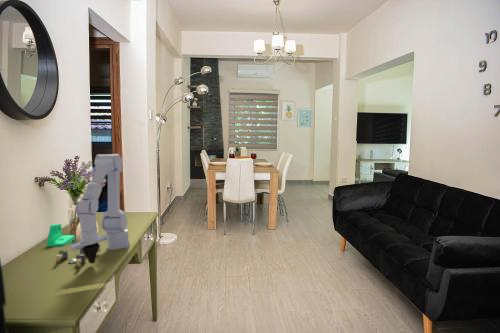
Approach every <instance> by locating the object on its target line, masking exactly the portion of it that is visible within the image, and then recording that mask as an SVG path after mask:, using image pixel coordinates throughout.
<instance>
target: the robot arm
mask: <svg viewBox="0 0 500 333" xmlns="http://www.w3.org/2000/svg"><path fill="white" fill-rule="evenodd" d="M94 166H95V171H94V173H93V176H92V180H91V183H88V184H87V185H86V188H85V190H84V192H83V195H82V197H81V199H80V200H78V201H77V202H76V204H75V209H74V210H75V213H76V214H77V218H78V219H79V225H80V226H79V227H80V234H81V235H80V237H81V240H80V241H78V242H76V243H73V244H70V246H69V248H70V251H71V252H76V251H77V250H80V248H81V249H82V250H83V251H84V252H85V254H86V256H87V257H86V258H87V260H88V263H89V264H95V262H96V258H97V254H98V252H97V251H98V249H99V247H100V245H101V244H100V243H101V242H104V241H106V242H107V243H106V244H107V249H108V250H111V251H112V250H113V251H116V250H120V249H127V248H130V245H131V244H130V240H129V228H128V229H127V226H128V220H127V213H126V212H125V211H123V210H122V209H121V208H120V207H121V206H120V205H121V204H120V201H121V200H120V199H121V198H120V196H121V195H120V186H121V184H120V183H121V182H120V176H121V174H120V173H123V159H122V157H121V155H120V154H119V153H114V154H113V153H112V154H111V153H110V154H108V153H107V154H101V153H99V154H96V156H95V158H94ZM106 175H107V210H106V211H104V212H103V214H102V219H101V223H100V226H101V228H102V230H103V231H104V232H105V233H106V234H103V235H102V234H101V235H98V226H97V225H98V224H97V216H96V215H97V213H98V210H99V198H100V196H101V193H102V190H103V187H102V186H101V185H102V183H103V181H104V179H105V177H106Z"/></svg>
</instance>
